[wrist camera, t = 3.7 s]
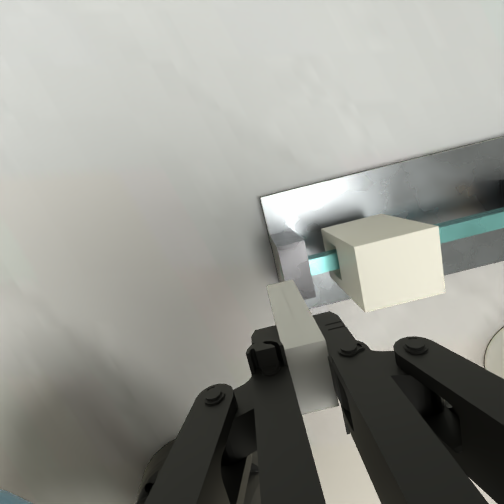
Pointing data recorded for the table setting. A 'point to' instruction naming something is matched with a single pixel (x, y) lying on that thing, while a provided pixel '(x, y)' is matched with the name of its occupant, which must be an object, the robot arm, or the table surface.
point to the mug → (496, 355)
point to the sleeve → (386, 260)
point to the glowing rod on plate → (393, 213)
